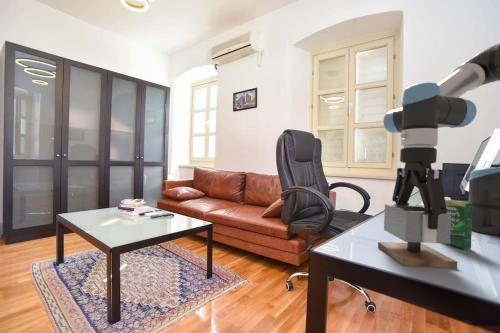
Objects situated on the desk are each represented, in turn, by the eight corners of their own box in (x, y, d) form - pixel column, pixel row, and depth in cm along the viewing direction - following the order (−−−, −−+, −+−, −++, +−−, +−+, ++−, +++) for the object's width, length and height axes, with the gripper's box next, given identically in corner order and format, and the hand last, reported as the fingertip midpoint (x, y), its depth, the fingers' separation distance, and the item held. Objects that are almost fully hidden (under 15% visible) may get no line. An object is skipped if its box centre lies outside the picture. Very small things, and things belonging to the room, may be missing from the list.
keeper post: (422, 249, 67) (423, 210, 67) (457, 268, 55) (459, 221, 55) (377, 247, 68) (379, 208, 67) (402, 265, 56) (404, 218, 55)
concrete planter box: (421, 231, 66) (422, 205, 66) (449, 243, 56) (451, 213, 56) (383, 229, 66) (384, 204, 66) (405, 241, 57) (406, 211, 56)
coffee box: (435, 240, 75) (437, 198, 75) (443, 240, 76) (445, 198, 75) (463, 250, 67) (465, 203, 67) (471, 249, 68) (473, 203, 68)
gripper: (380, 149, 72) (377, 223, 73) (434, 143, 50) (429, 251, 50) (406, 149, 72) (403, 224, 72) (472, 144, 49) (467, 252, 50)
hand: (414, 235), depth 61 cm, fingers closed on concrete planter box, 10 cm apart
